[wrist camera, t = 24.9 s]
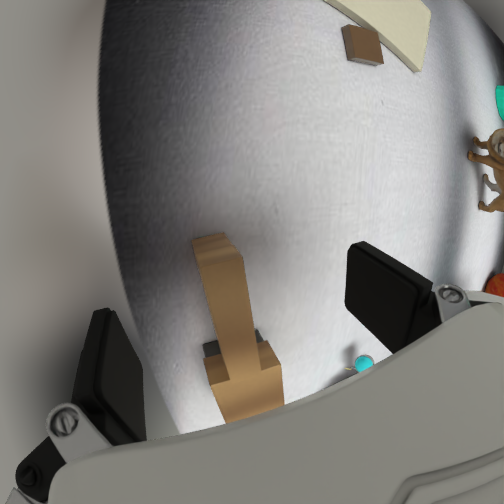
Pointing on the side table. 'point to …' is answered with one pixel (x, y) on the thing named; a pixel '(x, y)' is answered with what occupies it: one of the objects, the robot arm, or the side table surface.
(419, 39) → the tile
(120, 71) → the side table surface
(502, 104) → the candle
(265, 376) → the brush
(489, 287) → the fruit
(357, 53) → the mud flake
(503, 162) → the lion figurine
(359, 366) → the perfume bottle
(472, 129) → the side table surface
